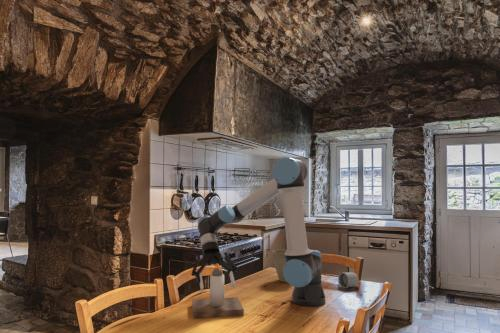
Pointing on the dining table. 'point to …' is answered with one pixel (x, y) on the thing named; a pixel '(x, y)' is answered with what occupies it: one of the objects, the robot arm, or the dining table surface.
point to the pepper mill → (217, 288)
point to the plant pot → (279, 263)
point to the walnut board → (217, 308)
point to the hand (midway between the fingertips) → (218, 287)
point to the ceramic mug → (348, 280)
